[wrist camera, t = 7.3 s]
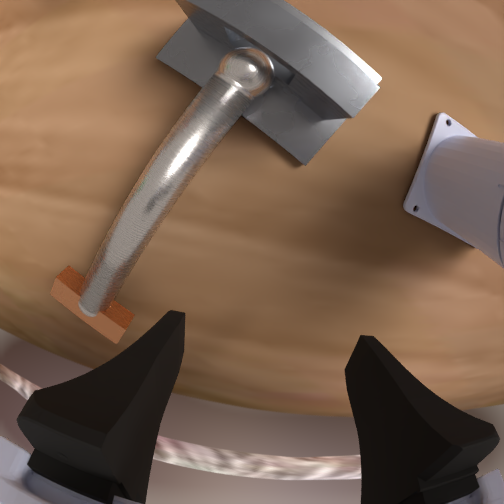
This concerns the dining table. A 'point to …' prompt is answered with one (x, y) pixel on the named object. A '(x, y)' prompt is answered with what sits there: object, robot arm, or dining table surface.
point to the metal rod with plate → (162, 189)
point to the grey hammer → (276, 68)
